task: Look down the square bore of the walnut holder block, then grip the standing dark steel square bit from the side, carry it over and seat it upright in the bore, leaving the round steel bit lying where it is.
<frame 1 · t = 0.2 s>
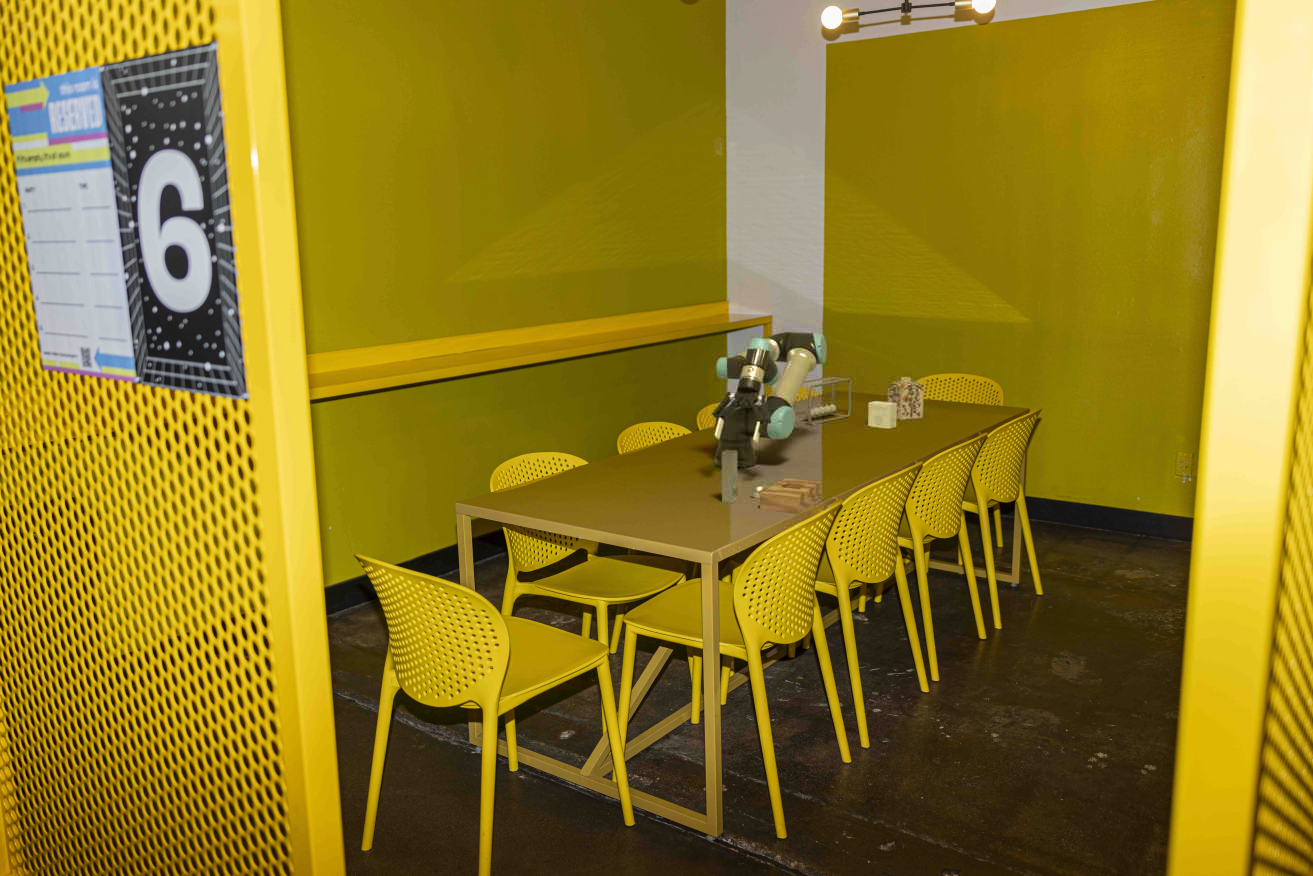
hand: (735, 439, 323), 16 cm above the table, tool tilted 35°, fingers open, 13 cm apart
holder block: (791, 503, 303), on the table
skincare box: (882, 427, 419), on the table
decorative jar: (904, 417, 439), on the table
square bit: (729, 501, 306), on the table
newton's cradle: (821, 420, 437), on the table
round bit: (762, 495, 313), on the table
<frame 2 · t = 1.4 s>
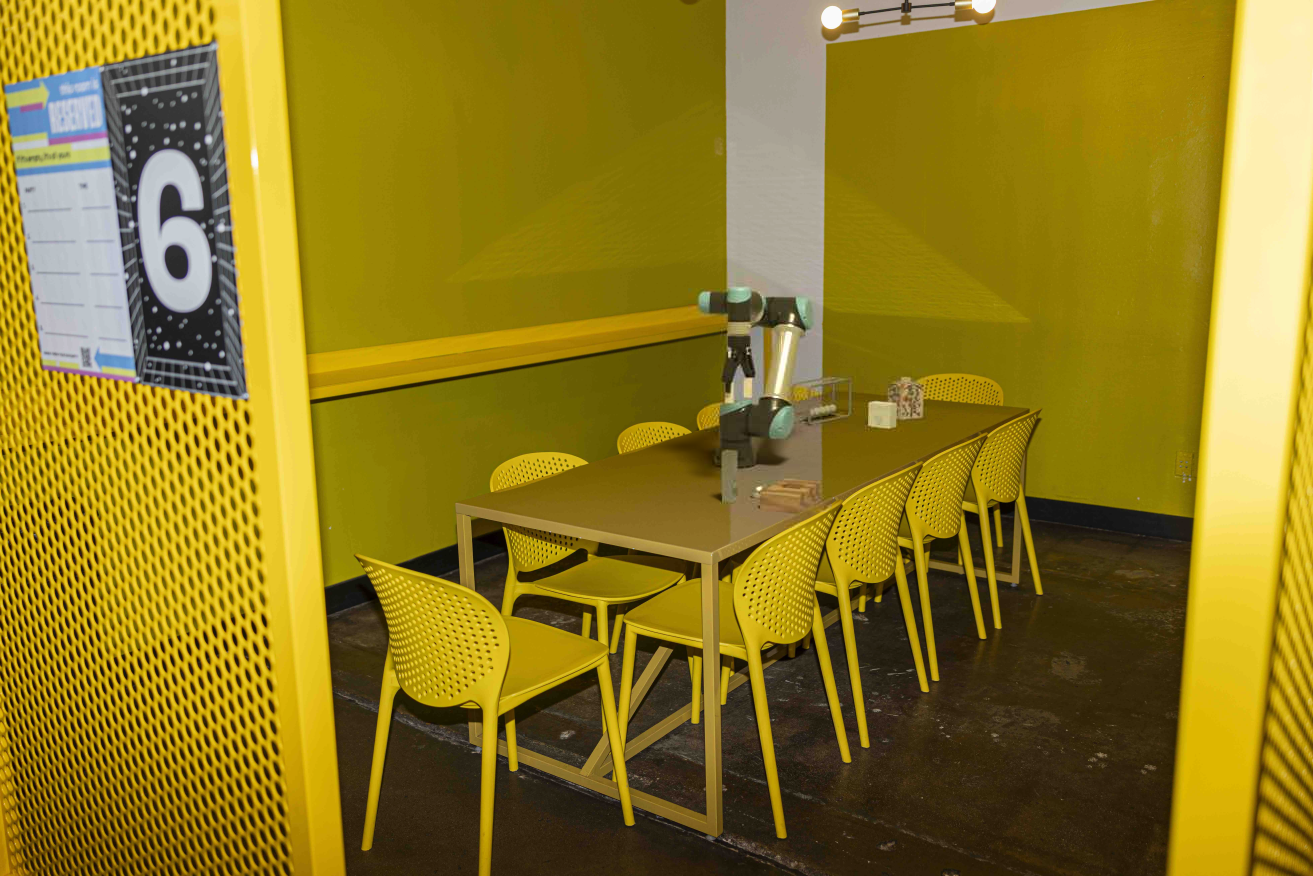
hand: (738, 400, 321), 28 cm above the table, tool pointing down, fingers open, 13 cm apart
nothing on the table moved.
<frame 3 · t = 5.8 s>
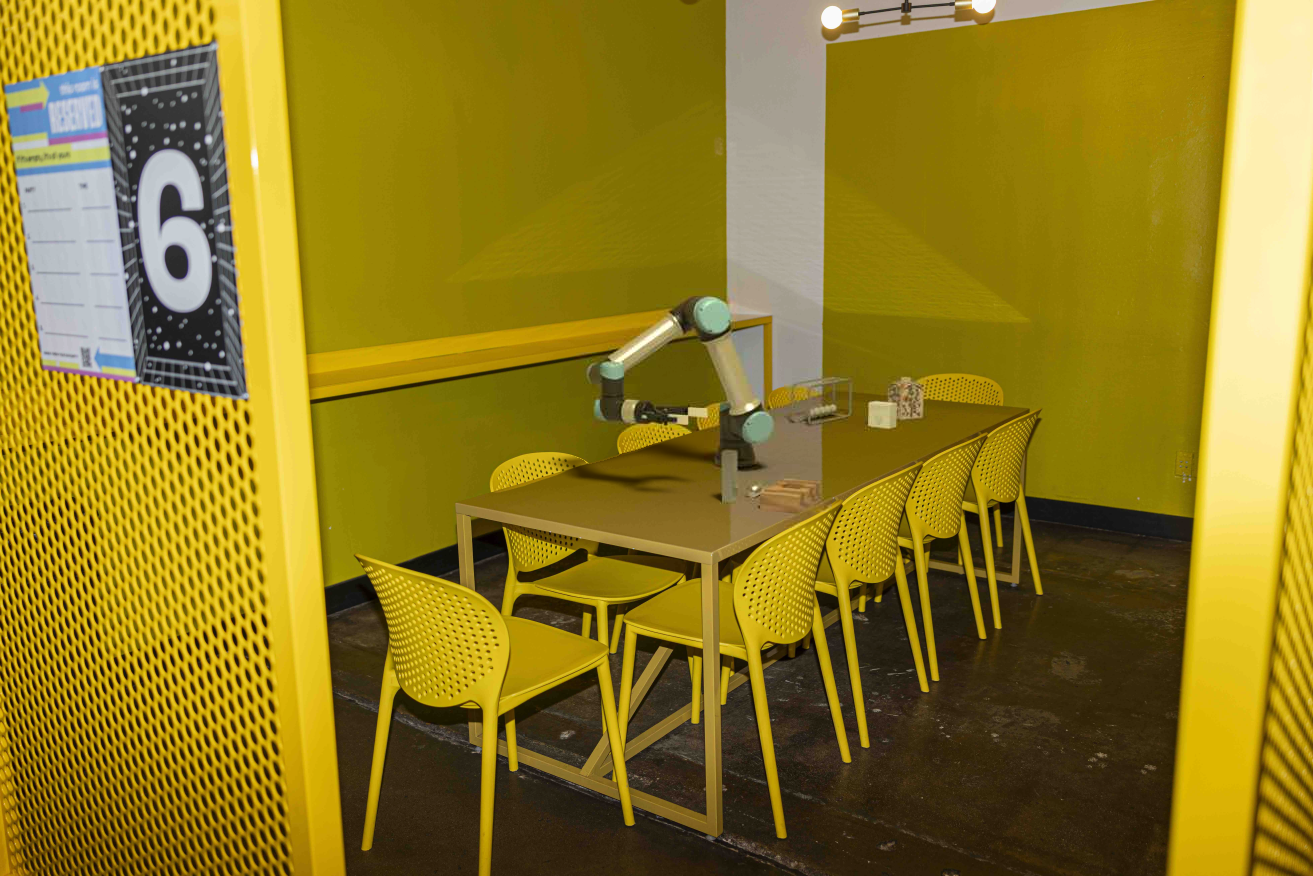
hand: (697, 416, 307), 26 cm above the table, tool horizontal, fingers open, 13 cm apart
round bit: (762, 492, 313), point 1 cm above the table, tilted 59°
everything else where it was.
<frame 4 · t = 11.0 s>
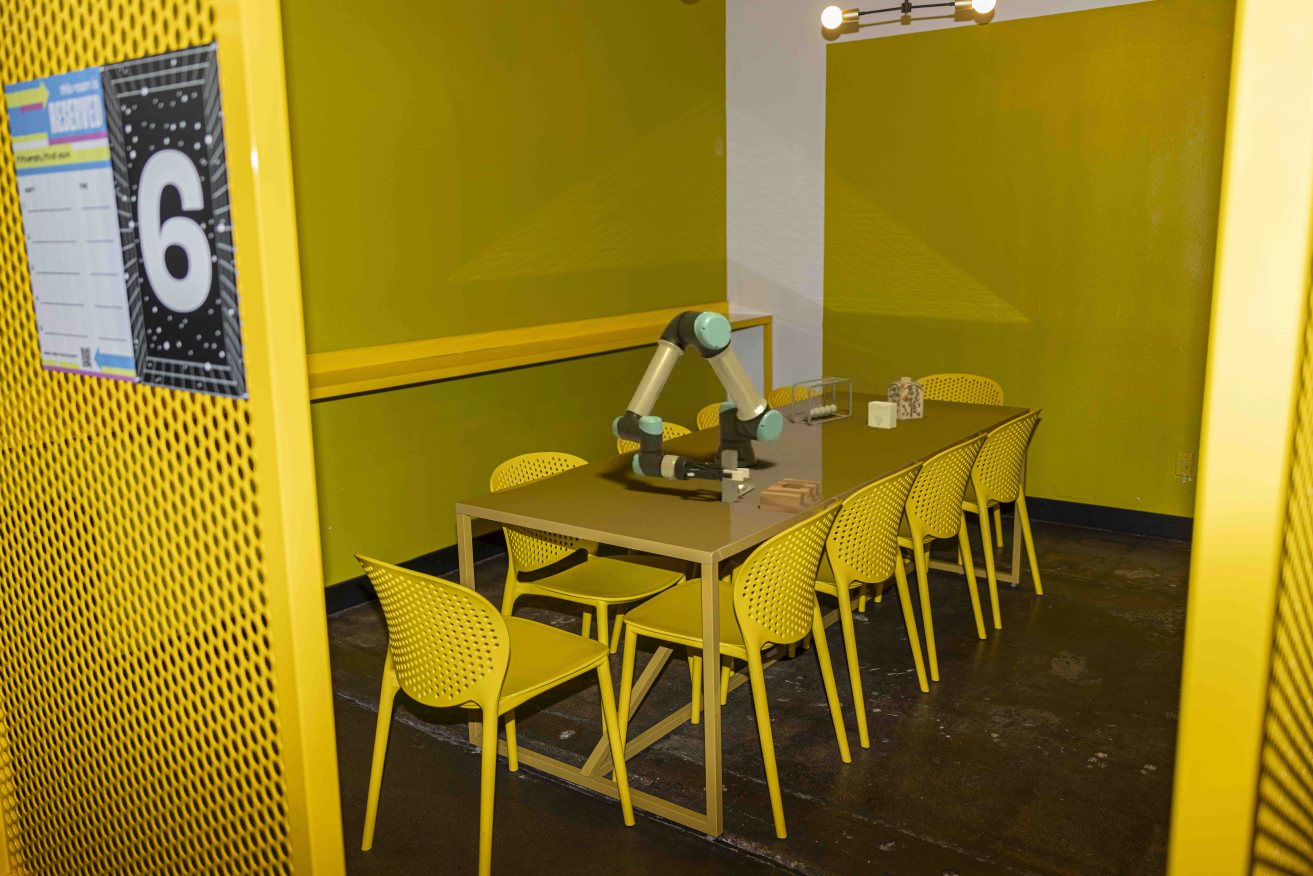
hand: (745, 475, 302), 9 cm above the table, tool horizontal, fingers closed on square bit, 4 cm apart
square bit: (729, 501, 306), on the table, touching gripper
round bit: (740, 483, 317), point 3 cm above the table, tilted 137°
everything else where it was.
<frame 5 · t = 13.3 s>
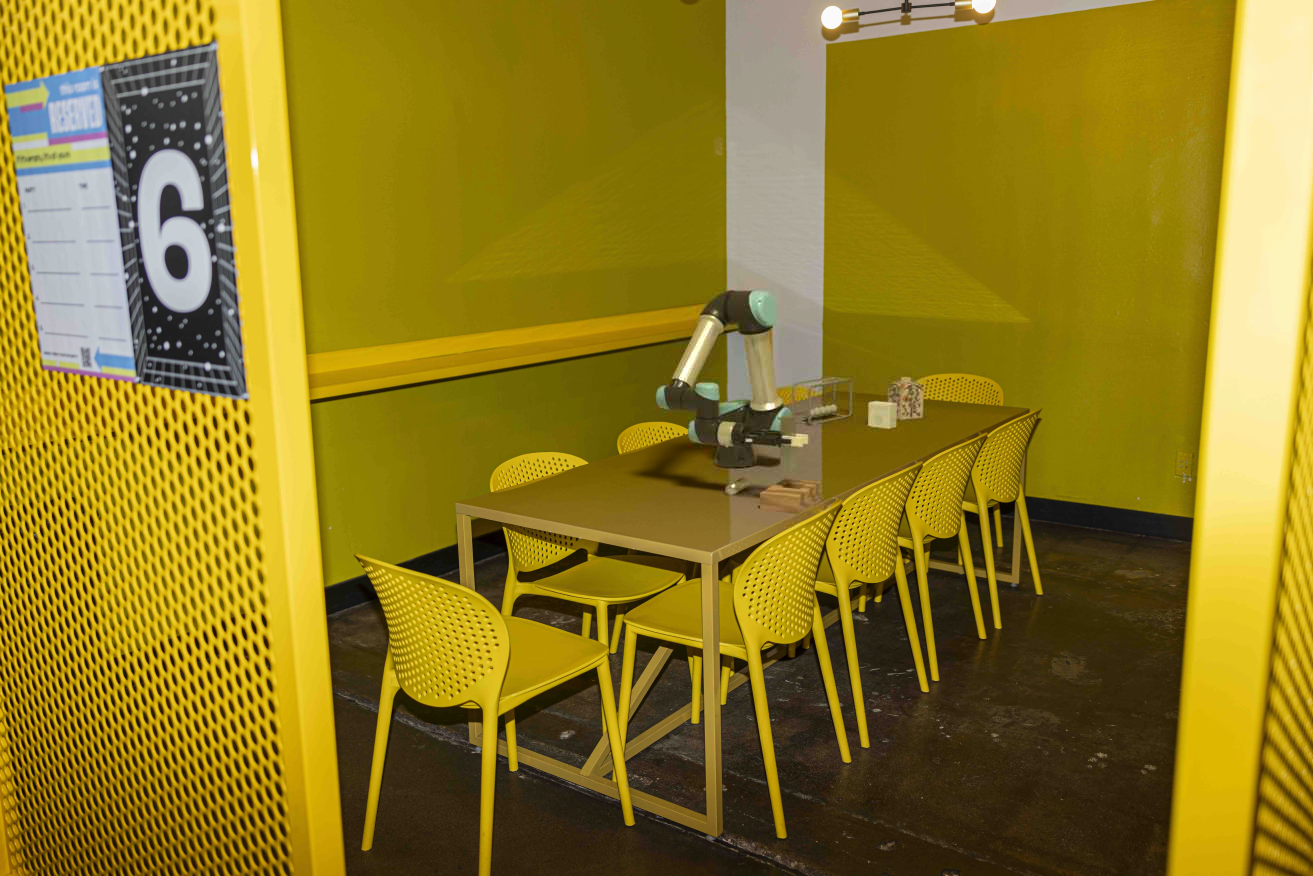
hand: (804, 440, 297), 20 cm above the table, tool horizontal, fingers closed on square bit, 4 cm apart
square bit: (788, 468, 302), point 11 cm above the table, touching gripper
round bit: (732, 489, 318), on the table, tilted 52°
everything else where it was.
when the fingers open (11 cm above the table, at t = 15.8 s): square bit drops 1 cm, resting on holder block.
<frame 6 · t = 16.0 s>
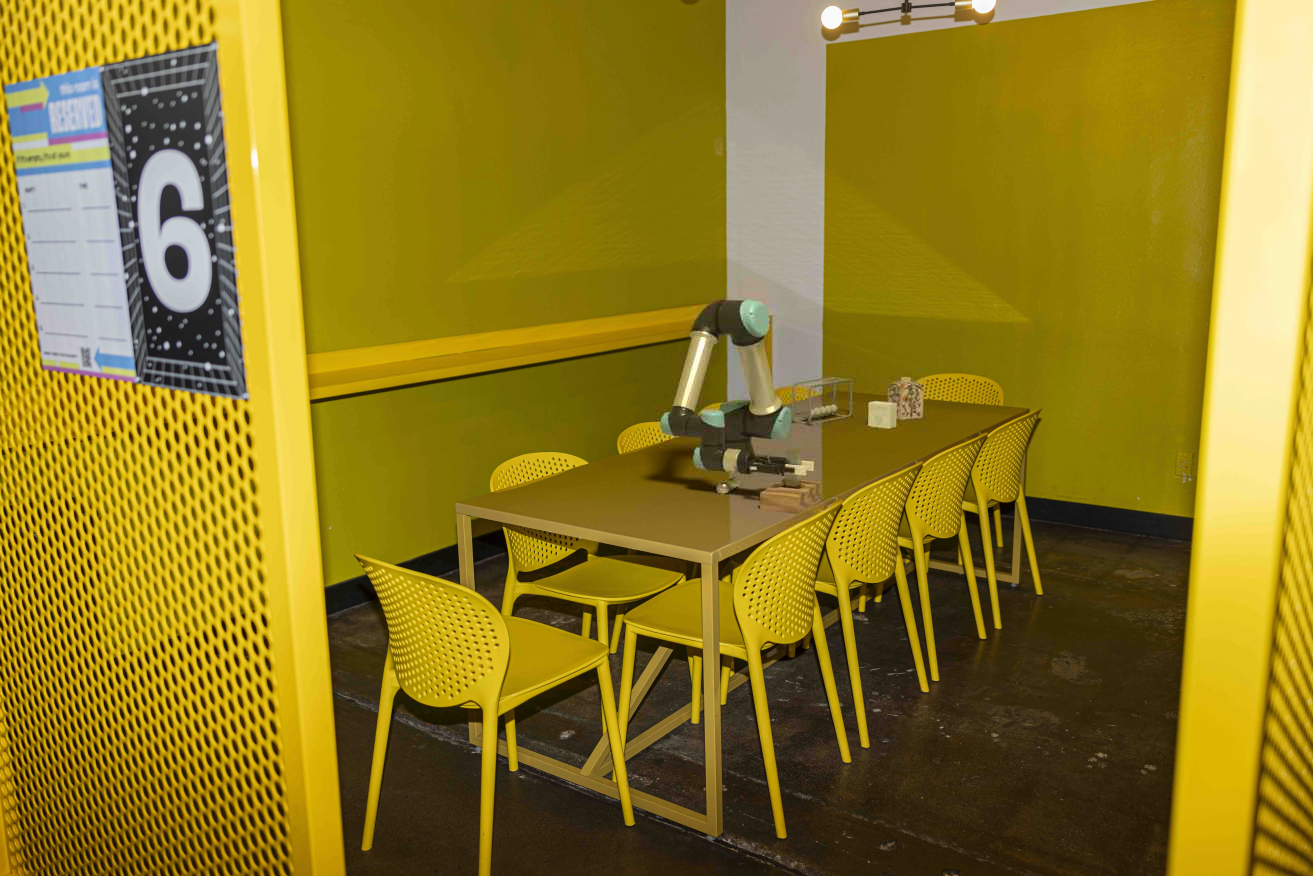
hand: (809, 468, 300), 11 cm above the table, tool horizontal, fingers open, 6 cm apart
square bit: (793, 499, 304), resting on holder block
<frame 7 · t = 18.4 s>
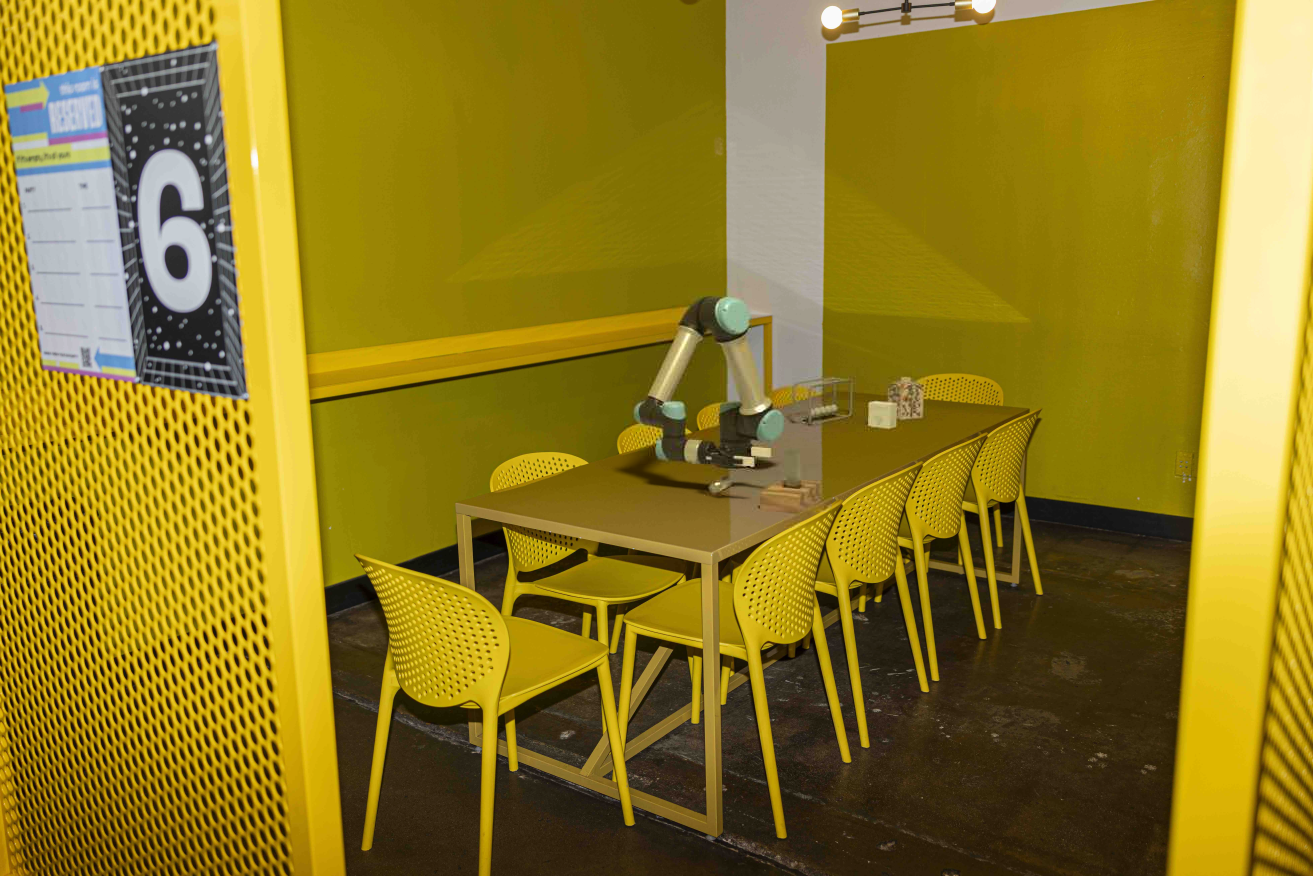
hand: (762, 457, 307), 13 cm above the table, tool horizontal, fingers open, 13 cm apart
round bit: (723, 480, 319), point 3 cm above the table, tilted 145°
everything else where it was.
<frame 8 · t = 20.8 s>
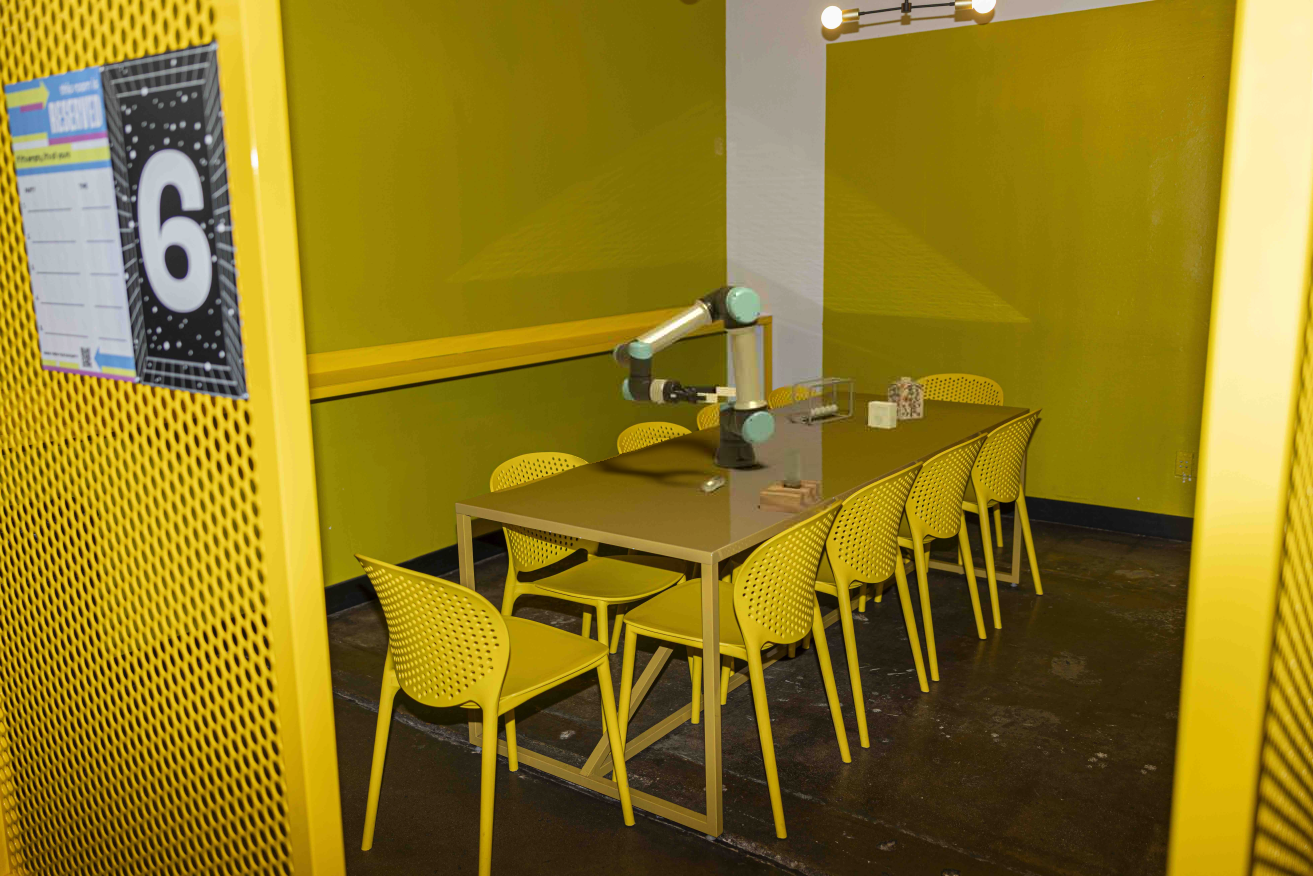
hand: (726, 395, 309), 32 cm above the table, tool horizontal, fingers open, 13 cm apart
round bit: (709, 480, 322), point 3 cm above the table, tilted 126°
everything else where it was.
at the end: square bit 0.0 cm from the target spot on the holder block, point 0.5 cm above the holder block's base; square bit tilted 0°; the gripper is holding nothing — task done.
